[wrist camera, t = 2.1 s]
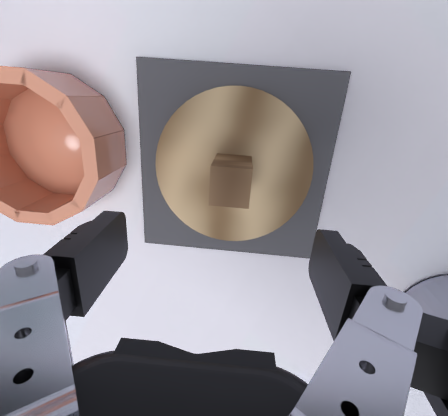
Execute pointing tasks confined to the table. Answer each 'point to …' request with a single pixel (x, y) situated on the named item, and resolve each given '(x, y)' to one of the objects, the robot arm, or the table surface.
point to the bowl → (55, 146)
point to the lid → (234, 163)
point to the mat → (250, 77)
